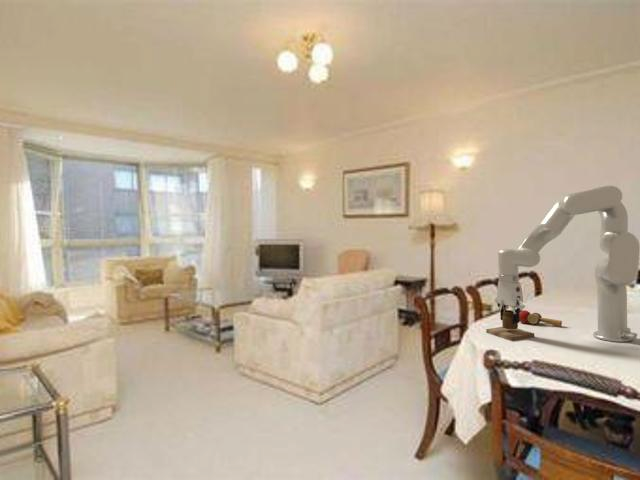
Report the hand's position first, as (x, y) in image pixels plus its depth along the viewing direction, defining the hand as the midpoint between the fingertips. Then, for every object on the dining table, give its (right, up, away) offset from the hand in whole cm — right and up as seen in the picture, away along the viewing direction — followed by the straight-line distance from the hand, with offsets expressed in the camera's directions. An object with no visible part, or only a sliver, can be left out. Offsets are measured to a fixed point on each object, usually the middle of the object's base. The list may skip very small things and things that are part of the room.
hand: (509, 320), depth 170 cm
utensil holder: (0, -3, 0) cm, 3 cm away
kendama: (+20, -5, +15) cm, 26 cm away
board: (0, -6, 0) cm, 6 cm away
